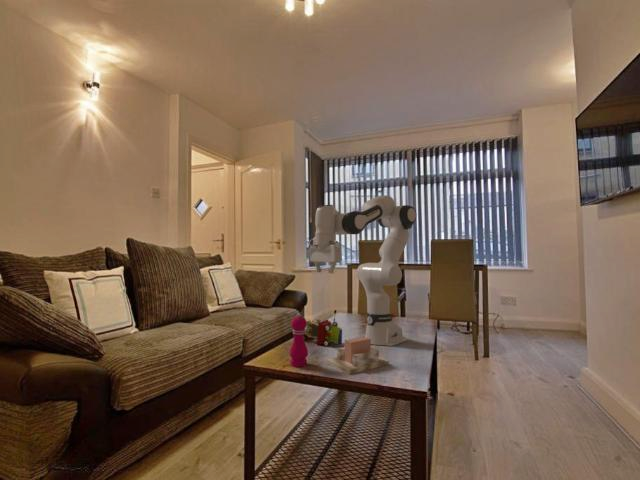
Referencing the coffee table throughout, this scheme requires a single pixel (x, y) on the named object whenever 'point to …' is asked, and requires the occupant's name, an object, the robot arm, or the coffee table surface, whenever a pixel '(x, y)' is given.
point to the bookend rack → (357, 361)
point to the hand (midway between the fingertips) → (324, 272)
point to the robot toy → (324, 332)
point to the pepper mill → (298, 342)
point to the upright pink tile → (356, 347)
